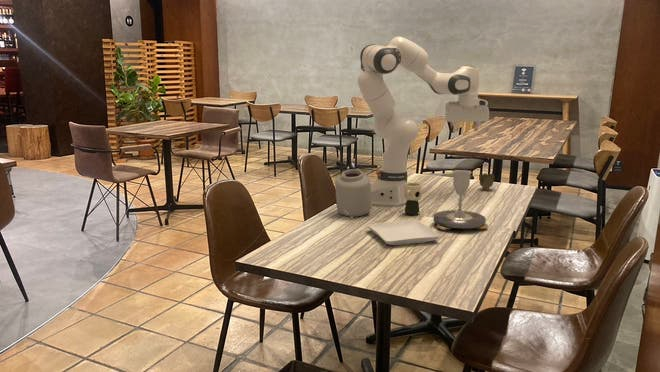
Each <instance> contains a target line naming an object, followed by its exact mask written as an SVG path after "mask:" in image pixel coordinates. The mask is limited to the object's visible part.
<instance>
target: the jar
mask: <svg viewBox="0 0 660 372" xmlns="http://www.w3.org/2000/svg"><path fill="white" fill-rule="evenodd" d="M351 164H352V167H355V164H354V163H353V162H351ZM349 168H350V167H349V166H347V169H346V170H343V171H341V174H340V175H339V176H337V178H336V179H335V180H334V186H335V187H334V188H335V198H336V199H335V201H336V202H335V203H336V208H337V212H338V213H340V214H341V215H343V216H346V217H348V218H356V217H357V218H358V217H361V216H364V215H366V214H368V213H369V212H370V211H371V210H372V206H373V205H372V204H371V185H370V184H371V179H370V177H369V176H368V175H367V174H365V173H364V172H363V171H362V170H360V169H359V168H355V169H354V168H353V169H349Z"/></svg>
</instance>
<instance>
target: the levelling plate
mask: <svg viewBox="0 0 660 372" xmlns="http://www.w3.org/2000/svg"><path fill="white" fill-rule="evenodd" d="M455 211H456V209H455V210H453V209H452V210H451V209H449V210H441V211H438V212H435V213H434V214H433V222H434V223H435V224H436V228H437V229H438V230H442V231H451V230H452V229H463V230H464V229H465V230H466V229H467V230H469V229H470V230H471V229H472V230H480V231H481V230H485V229H486V230H487V229H488V228H489V225H488V224H487V223H486V222H487V221H486V220H487V218H486V217H485V216H484V215H482V214H480V213H477V212H474V211H469V210H463V211H464V212H465V216H466V218H455V217H453V215H454V213H455Z"/></svg>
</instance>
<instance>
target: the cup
mask: <svg viewBox="0 0 660 372" xmlns="http://www.w3.org/2000/svg"><path fill="white" fill-rule="evenodd" d="M478 177H479V184H480V187H482V188H481V189H482V191H485V192H488V191H490V189H491V187H493V185H494V181H495V175H494V174H493V173H479V174H478Z"/></svg>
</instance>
